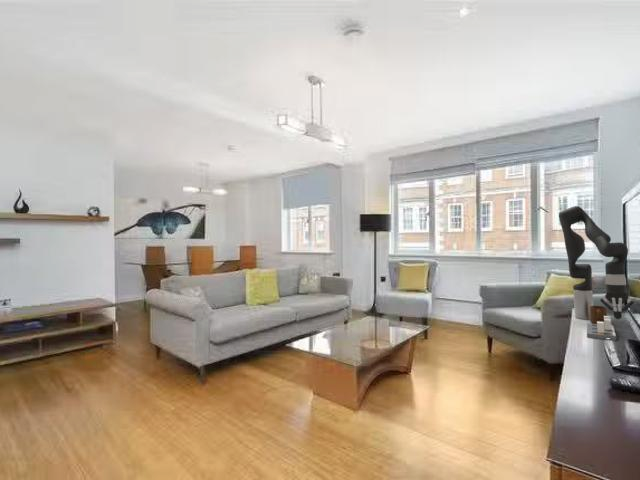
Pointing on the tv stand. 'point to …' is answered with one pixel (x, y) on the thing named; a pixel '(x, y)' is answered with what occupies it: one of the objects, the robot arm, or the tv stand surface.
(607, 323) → the block
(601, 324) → the block
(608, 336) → the breaker panel
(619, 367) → the tv stand surface
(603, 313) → the mug
